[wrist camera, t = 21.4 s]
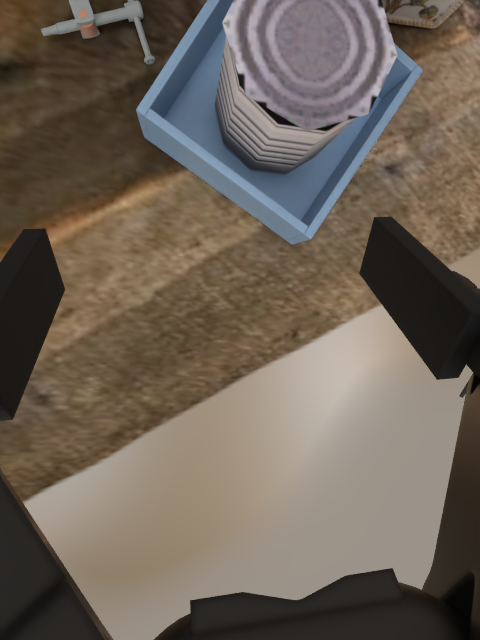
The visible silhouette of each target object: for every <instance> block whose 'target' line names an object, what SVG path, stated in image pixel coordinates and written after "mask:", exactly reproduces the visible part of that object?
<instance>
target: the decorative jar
mask: <svg viewBox="0 0 480 640" xmlns="http://www.w3.org/2000/svg"><path fill="white" fill-rule="evenodd" d="M464 1H465V0H382V4H383V7H384V11H385V14H386V17H387V21H388V23H396V24H402V25H410V26H417V27H424V28H431V29H432V28H437V27H438V26H439V25H441V24H442V23H443V22H444V21H445V20H446V19H447V18H448V17H449V16H450V15H451V14H452V13H453V12H454V11H455V10H456V9H457V8H459V7H460V6H461V5H462V4H463V2H464Z"/></svg>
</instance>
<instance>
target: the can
mask: <svg viewBox="0 0 480 640" xmlns="http://www.w3.org/2000/svg"><path fill="white" fill-rule="evenodd" d="M222 24H223V27H224V30H225V33H226V40H225V46H224V52H223V58H222V64H221V70H220V76H219V82H218V88H217V94H216V100H215V111H216V115H217V120H218V124H219V128H220V133H221V137H222V141H223V145H224V146H225V147H226V148H227V149H228V150H229V151H230V152H232V153H233V154H234V155H235V156H236V157H237V158H238V159H239V160H240V161H241V162H242V163H243V164H244V165H245V166H246V167H247V168H248V169H249V170H251V171H259V172H266V173H274V174H282V175H286V174H288V173H289V172H291V171H293V170H294V169H296V168H297V167H299V166H301V165H302V164H304V163H306V162H307V161H309V160H311V159H312V158H314V157H315V156H316V155H317V154H318V153H320V152H321V151H322V150H323V149H324V148H325V147H326V146H327V145H328V144H329V143H330V142H331V141H332V140H333V139H334V138H335V137H336V136H338V135H339V134H340V133H341V132H342V131H343V130H344V129H345V128H346V127H347V126H348V125H349V124H350V123H351V122H352V121H353V120H355V119H356V118H357V117H361V116H364V115H368V114H369V113H370V111H371V109H372V107H373V105H374V103H375V101H376V99H377V97H378V94H379V92H380V90H381V88H382V86H383V84H384V82H385V80H386V78H387V76H388V74H389V72H390V70H391V68H392V66H393V64H394V61H395V59H396V57H397V52H396V49H395V45H394V42H393V38H392V35H391V31H390V28H389V24H388V21H387V17H386V14H385V11H384V7H383V4H382V0H234V1H233V3H232V4H231V6H230V8H229V10H228V12H227V14H226V16H225V18H224V20H223V22H222Z"/></svg>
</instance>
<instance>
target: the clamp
mask: <svg viewBox="0 0 480 640" xmlns="http://www.w3.org/2000/svg"><path fill="white" fill-rule="evenodd" d="M69 3H70V6H71V9H72V12H73V15H74V17H75V19H72V20H68V21H64V22H59V23H56V25H52V26H51V27H47V28H42V29H41V31H42V34H43V36H48V35H52V34H60V35H61V34H65V33H69V32H73V31H78V30H80V32H81V35H82V37H83V39H88V38H93V37H96V36H98V35H100V32H99V29H98V26H99V25H103V24H107V23H112V22H116V21H120V20H124V19H128V20H129V22H133V21H134V22H135V25H136V28H137V31H138V35H139V38H140V41H141V44H142V47H143V50H144V53H145V56H146V57H145V59H144V62H145V63H146V64H152V63H154V61H155V58H154V56H152V55H151V53H150V50H149V47H148V44H147V40H146V37H145V34H144V31H143V28H142V25H141V22H140V20H141V19H143V17H144V15H143V11H142V7H141V4H140V2H139V1H138V0H136V1H134V0H128V3H124V8H120V9H115V10H111V11H107V12H102V13H98V14H93V11H92V8H91V5H90V2H89V0H69Z"/></svg>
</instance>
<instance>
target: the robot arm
mask: <svg viewBox="0 0 480 640" xmlns="http://www.w3.org/2000/svg"><path fill="white" fill-rule="evenodd" d="M359 274H360V275H361V276H362V278H363V279H364V280H365V282H366V283H367V285H368V286H369V287H370V289H371V290H372V291H373V293H374V294H375V295H376V297H377V298H378V300H379V301H380V302H381V304H382V305H383V306H384V308H385V309H386V310H387V312H388V313H389V315H390V316H391V317H392V319H393V320H394V321H395V323H396V324H397V326H398V327H399V328H400V330H401V331H402V332H403V334H404V335H405V336H406V338H407V339H408V341H409V342H410V343H411V345H412V346H413V347H414V349H415V350H416V352H417V353H418V354H419V356H420V357H421V358H422V359H423V361H424V362H425V363H426V365H427V366H428V368H429V369H430V371H431V372H432V373H433V375H434V376H435V377H436V379H438V380H439V379H449V378H458V377H459V376H460V374H461V372H462V371H463V369H464V367H465V365H466V364H467V366H468V367H469V368H470V369H471V370H472V371H473V374H472V376H471V378H470V380H469V381H468V383H467V384H466V386H465V387H464V389H463V391H462V392H461V394H460V397H463V396H464V395H465V394H466V396H465V401H464V407H463V412H462V417H461V422H460V427H459V432H458V437H457V442H456V447H455V453H454V457H453V463H452V468H451V473H450V479H449V484H448V488H447V493H446V498H445V503H444V508H443V514H442V519H441V524H440V529H439V534H438V539H437V544H436V550H435V554H434V560H433V564H432V567H431V570H430V573H429V575H428V577H427V579H426V581H425V583H424V586H423V588H422V590H420V589H418V588H416V587H413V586H410V585H406V584H403V583H399V582H398V581H397V578H396V576H395V573H394V571H393V569H392V568H391V569H385V570H379V571H372V572H366V573H360V574H354V575H347V576H344V577H342V578H340V579H339V580H337V581H335V582H333V583H331V584H329V585H328V586H326V587H324V588H322V589H320V590H318V591H316V592H314V593H312V594H311V595H309V596H307V597H305V598H303V599H300V600H289V599H283V598H276V597H270V596H264V595H257V594H251V593H245V592H241V593H235V594H229V595H222V596H215V597H210V598H203V599H197V600H191V601H190V605H191V613H190V614H188V615H186V616H184V617H183V618H180V619H179V620H177V621H176V622H175V623H173V624H171V625H170V626H169V627H167V628H166V629H165V630H164V631H163V632H162V633H161V634H159V635H158V636H157V637H156V638H155V639H154V640H480V289H477V286H476V285H475V284H474V283H472V282H471V281H470V280H469V279H468V278H466V277H464V276H462V275H460V274H458V273H457V272H455V271H451V270H450V269H449V268H447V267H446V266H445V265H444V264H443V263H442V262H441V261H440V260H439V259H438V258H436V257H435V256H434V255H433V254H432V253H431V252H430V251H429V250H428V249H426V248H425V247H424V246H423V245H422V244H421V243H420V242H419V241H418V240H417V239H415V238H414V237H413V236H412V235H411V234H410V233H409V232H408V231H407V230H406V229H404V228H403V227H402V226H401V225H400V224H399V223H398V222H397V221H396V220H394V219H393V218H392V217H374V220H373V224H372V228H371V232H370V236H369V239H368V243H367V247H366V251H365V254H364V258H363V262H362V266H361V269H360V273H359ZM64 291H65V288H64V285H63V282H62V278H61V275H60V272H59V269H58V266H57V263H56V260H55V257H54V254H53V251H52V248H51V245H50V242H49V238H48V235H47V232H46V229H24V230H23V231H22V232H21V234H20V235H19V237H18V238H17V239H16V241H15V242H14V244H13V245H12V247H11V248H10V249H9V251H8V252H7V254H6V255H5V256H4V258H3V259H2V261H1V262H0V421H1V420H12V419H13V418H14V415H15V413H16V410H17V408H18V405H19V403H20V400H21V398H22V395H23V393H24V390H25V388H26V385H27V383H28V380H29V378H30V375H31V373H32V370H33V368H34V365H35V363H36V360H37V358H38V356H39V353H40V351H41V348H42V346H43V343H44V341H45V338H46V336H47V333H48V331H49V328H50V326H51V323H52V321H53V318H54V316H55V313H56V311H57V308H58V306H59V303H60V301H61V298H62V296H63V293H64ZM0 640H113V639H112V637H111V636H110V634H109V633H108V631H107V630H106V628H105V627H104V626H103V624H102V623H101V621H100V620H99V618H98V617H97V615H96V614H95V612H94V611H93V609H92V608H91V606H90V605H89V603H88V601H87V600H86V598H85V597H84V595H83V594H82V592H81V591H80V589H79V588H78V587H77V585H76V583H75V582H74V580H73V579H72V577H71V576H70V574H69V573H68V571H67V569H66V568H65V567H64V565H63V563H62V562H61V560H60V559H59V557H58V556H57V554H56V553H55V551H54V550H53V548H52V547H51V546H50V544H49V542H48V541H47V539H46V537H45V536H44V534H43V533H42V531H41V530H40V528H39V527H38V525H37V524H36V522H35V521H34V519H33V518H32V516H31V515H30V513H29V512H28V510H27V509H26V507H25V506H24V504H23V502H22V501H21V499H20V498H19V496H18V495H17V493H16V492H15V490H14V489H13V487H12V486H11V484H10V483H9V481H8V480H7V478H6V477H5V475H4V474H3V472H2V470H1V469H0Z"/></svg>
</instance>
